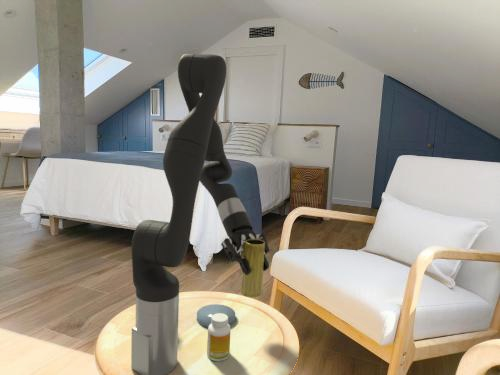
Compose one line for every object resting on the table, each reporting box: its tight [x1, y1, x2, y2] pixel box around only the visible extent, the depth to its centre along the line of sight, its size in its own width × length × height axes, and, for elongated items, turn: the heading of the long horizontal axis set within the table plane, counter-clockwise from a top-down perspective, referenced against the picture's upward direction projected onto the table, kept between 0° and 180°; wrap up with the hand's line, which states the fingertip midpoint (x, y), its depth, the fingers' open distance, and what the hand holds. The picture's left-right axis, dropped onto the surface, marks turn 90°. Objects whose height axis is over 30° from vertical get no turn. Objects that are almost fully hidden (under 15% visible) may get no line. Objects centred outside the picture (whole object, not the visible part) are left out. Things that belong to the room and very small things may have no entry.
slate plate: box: [196, 303, 236, 329], centre depth 101 cm, size 11×11×2 cm
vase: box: [239, 239, 265, 298], centre depth 93 cm, size 6×6×14 cm
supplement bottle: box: [206, 313, 232, 362], centre depth 84 cm, size 5×5×10 cm
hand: (257, 271), depth 92 cm, fingers closed on vase, 5 cm apart
